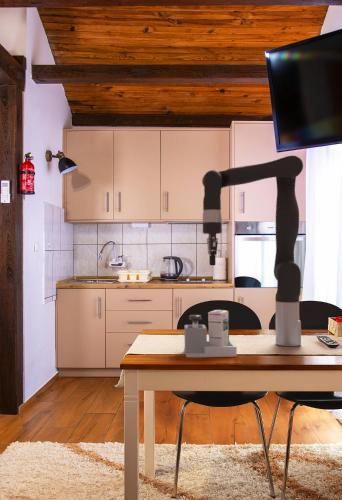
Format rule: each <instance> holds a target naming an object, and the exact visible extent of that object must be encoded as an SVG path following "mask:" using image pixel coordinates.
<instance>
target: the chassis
mask: <svg viewBox="0 0 342 500" xmlns="http://www.w3.org/2000/svg"><path fill="white" fill-rule="evenodd" d="M207 330H208V329H207V327H206V325H205V324H198V328H193V324H184V349H183V350H184V354H185V357H186V358H216V357H217V358H220V357H221V358H223V357H224V358H225V357H228V358H229V357H234V358H235V357H237V348H238V347H237V346H236V344H235V343H234V342H233V341H232V340H229V346H214V347H209V340H208V339H207V338H208V336H207Z"/></svg>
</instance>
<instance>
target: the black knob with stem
mask: <svg viewBox="0 0 342 500" xmlns="http://www.w3.org/2000/svg"><path fill="white" fill-rule="evenodd" d="M188 320H189V321H192V325H193V328H198V325H199V321H201V320H202V315H201V314H190V315H189V318H188Z"/></svg>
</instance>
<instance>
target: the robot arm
mask: <svg viewBox="0 0 342 500" xmlns="http://www.w3.org/2000/svg"><path fill="white" fill-rule="evenodd" d="M303 168H304V164H303V159H302V158H300V157H299V156H297V155H295V154H288V155H286V156H284V157H280V158H278V159H275V160H271V161H268V162H263V163H261V162H260V163H256V164H248V165H243V166H241V165H240V166H236V167H235V166H234V167H231V168H227V169H226V170H220V171H217V170H214V169H212V170H208V171H207V172H206V173H205V174H204V175H203V177H202V186H203V188H204V189H203V190H204V196H203V200H202V201H203V202H202V203H203V204H202V207H203V209H202V210H203V212H202V233H203V234H204V235H205V234H206V235H207V234H208V238H206V244H207V254H208V255H209V262H208V263H209V266H216V256H217V252H218V251H217V250H218V243H219V241H218V240H219V239H218V238H217V234H222V231H223V230H222V229H223V228H222V225H223V224H222V222H223V221H222V220H223V217H222V201H221V195H222V189H223V188H226V187H232V186H233V187H234V186H238V185H239V186H240V185H246V184H249V183H254V182H257V181H263V180H265V179H271V178H275V179H276V180H275V181H276V203H275V247H276V248H275V258H274V266H273V276H274V278H275V279H276V281H277V284H276V285H277V291H276V293H275V298H274V299H275V344H276V345H278V346H282V347H283V346H284V347H297V346H302V321H301V320H300V296H301V290H302V288H301V287H302V273H301V269H300V266H299V265H298V264H297V263H296V262H295V246H296V244H297V243H296V242H297V238H298V234H299V228H300V209H299V204H298V201H297V196H296V191H295V190H296V180H297V179H296V178H297V177H298V176H299V175H300V174H301V173H302V171H303Z"/></svg>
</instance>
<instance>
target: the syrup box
mask: <svg viewBox="0 0 342 500" xmlns="http://www.w3.org/2000/svg"><path fill="white" fill-rule="evenodd" d="M207 314H208V316H207V319H208V321H207V322H208V341H209V347H214V346H229V341H230V330H229V329H230V326H229V323H230V322H229V318H230V317H229V310H225V309H214V310H211V311H209V312H207Z"/></svg>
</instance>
